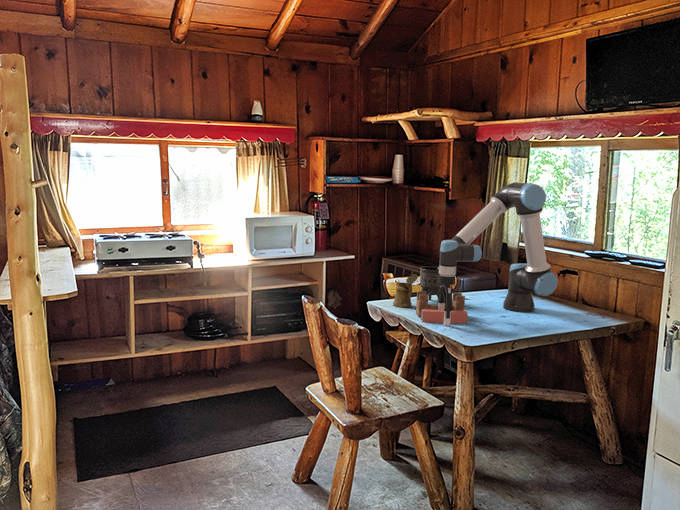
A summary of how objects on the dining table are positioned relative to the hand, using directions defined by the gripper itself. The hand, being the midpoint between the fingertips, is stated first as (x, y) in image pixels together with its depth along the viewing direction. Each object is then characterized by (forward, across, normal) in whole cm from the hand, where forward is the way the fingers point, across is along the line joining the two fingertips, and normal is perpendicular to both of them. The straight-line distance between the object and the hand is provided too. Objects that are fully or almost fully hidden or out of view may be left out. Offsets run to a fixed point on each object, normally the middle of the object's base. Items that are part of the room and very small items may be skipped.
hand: (443, 321), depth 267 cm
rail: (0, 0, 0) cm, 0 cm away
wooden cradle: (0, -10, 0) cm, 10 cm away
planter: (0, -37, +1) cm, 37 cm away
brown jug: (0, -26, -14) cm, 29 cm away
